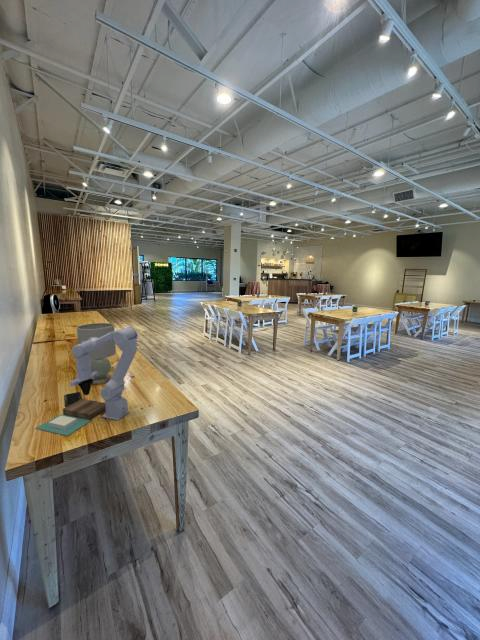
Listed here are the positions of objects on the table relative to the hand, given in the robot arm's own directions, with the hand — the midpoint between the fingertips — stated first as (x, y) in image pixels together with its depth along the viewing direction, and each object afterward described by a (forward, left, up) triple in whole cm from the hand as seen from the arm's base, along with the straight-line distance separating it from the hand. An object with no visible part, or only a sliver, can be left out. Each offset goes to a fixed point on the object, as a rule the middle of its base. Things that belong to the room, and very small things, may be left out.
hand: (86, 394), depth 130 cm
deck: (0, +1, -9) cm, 9 cm away
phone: (+17, -7, -9) cm, 21 cm away
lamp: (+23, -32, -9) cm, 40 cm away
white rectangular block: (0, +13, -7) cm, 15 cm away
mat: (0, +13, -9) cm, 16 cm away
